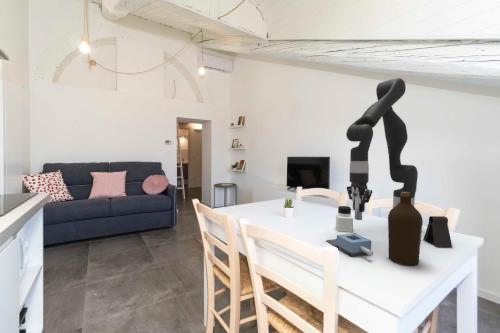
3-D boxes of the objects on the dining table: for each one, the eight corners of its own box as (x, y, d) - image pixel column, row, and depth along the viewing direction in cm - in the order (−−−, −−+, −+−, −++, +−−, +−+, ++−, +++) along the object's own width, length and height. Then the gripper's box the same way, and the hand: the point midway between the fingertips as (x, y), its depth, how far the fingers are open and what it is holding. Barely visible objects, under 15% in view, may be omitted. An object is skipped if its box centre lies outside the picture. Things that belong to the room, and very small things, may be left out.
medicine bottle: (352, 232, 122) (353, 208, 121) (337, 231, 123) (338, 207, 123) (350, 227, 129) (350, 205, 128) (335, 227, 130) (336, 204, 130)
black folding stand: (423, 240, 111) (424, 213, 110) (436, 240, 111) (438, 214, 110) (437, 247, 102) (438, 219, 101) (452, 248, 102) (453, 219, 101)
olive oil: (392, 265, 86) (394, 194, 84) (382, 253, 96) (384, 189, 95) (426, 268, 84) (429, 195, 82) (413, 255, 94) (415, 190, 93)
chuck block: (354, 246, 104) (355, 233, 103) (381, 259, 90) (381, 245, 90) (336, 248, 101) (336, 235, 101) (360, 262, 88) (360, 247, 87)
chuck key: (360, 217, 110) (361, 188, 109) (365, 219, 107) (366, 189, 106) (351, 218, 108) (351, 189, 107) (355, 220, 105) (356, 190, 105)
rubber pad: (339, 239, 111) (339, 238, 111) (350, 245, 104) (350, 244, 104) (326, 241, 109) (326, 240, 109) (336, 247, 102) (336, 245, 102)
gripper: (378, 172, 100) (378, 214, 102) (355, 170, 114) (354, 206, 115) (363, 173, 98) (362, 215, 100) (341, 170, 112) (340, 208, 113)
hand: (358, 210), depth 107 cm, fingers closed on chuck key, 3 cm apart
